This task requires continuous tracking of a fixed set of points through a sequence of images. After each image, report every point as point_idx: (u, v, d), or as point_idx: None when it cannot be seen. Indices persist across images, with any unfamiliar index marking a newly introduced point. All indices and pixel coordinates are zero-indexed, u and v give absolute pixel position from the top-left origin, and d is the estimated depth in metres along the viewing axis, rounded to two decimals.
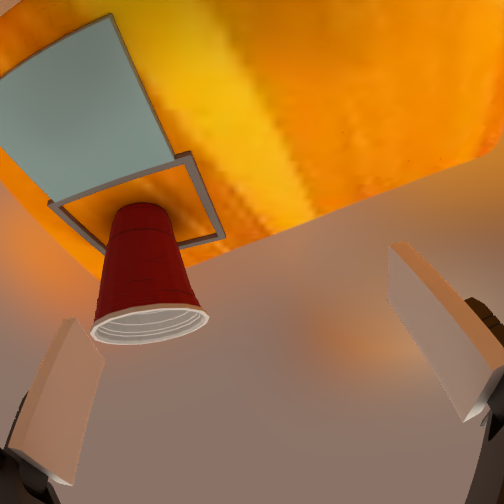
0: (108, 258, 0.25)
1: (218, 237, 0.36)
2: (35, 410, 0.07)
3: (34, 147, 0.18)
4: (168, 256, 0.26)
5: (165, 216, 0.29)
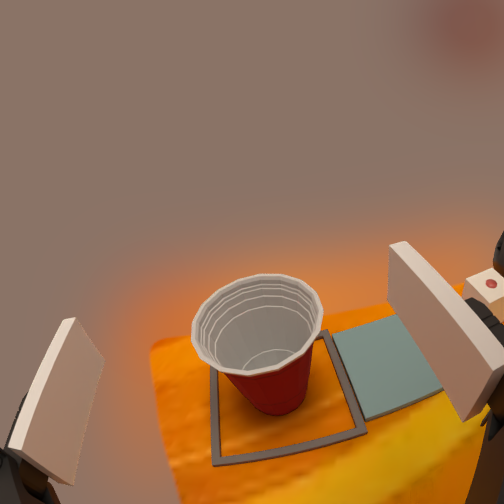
0: None
1: (217, 457, 0.24)
2: (35, 410, 0.07)
3: (390, 332, 0.32)
4: (297, 381, 0.24)
5: (289, 409, 0.27)
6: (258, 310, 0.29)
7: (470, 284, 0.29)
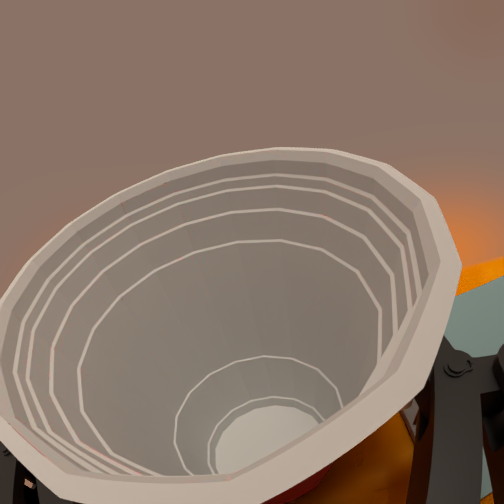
0: None
1: None
2: None
3: (484, 316, 0.14)
4: None
5: (294, 498, 0.09)
6: (218, 253, 0.12)
7: None
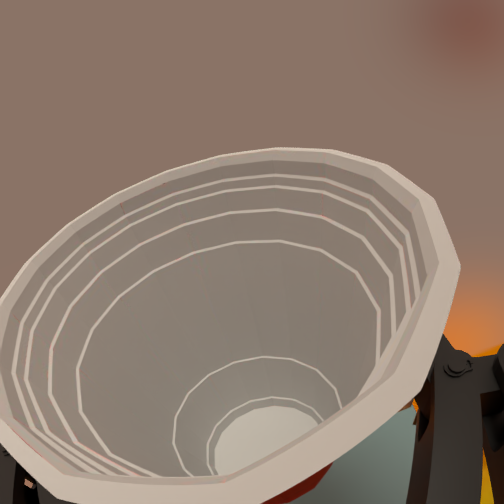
0: None
1: None
2: None
3: None
4: (324, 465, 0.06)
5: (293, 499, 0.09)
6: (217, 254, 0.12)
7: None
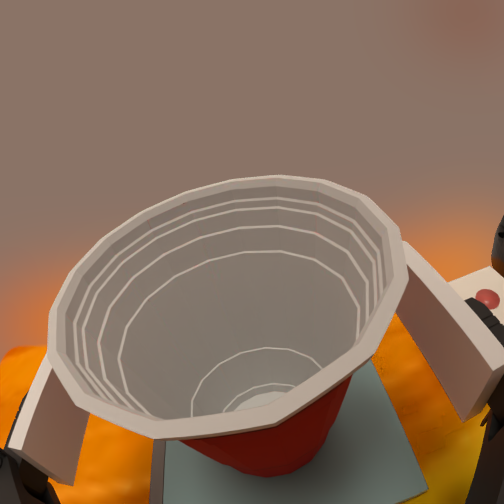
0: None
1: None
2: (35, 410, 0.07)
3: None
4: (319, 428, 0.09)
5: (294, 469, 0.12)
6: (228, 261, 0.14)
7: None
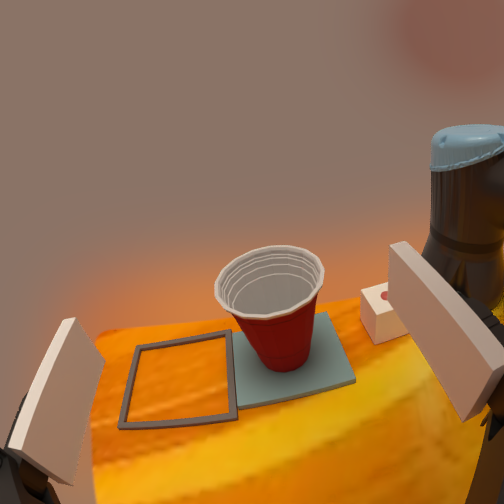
0: None
1: (122, 422, 0.30)
2: (35, 410, 0.07)
3: None
4: (303, 333, 0.30)
5: (296, 365, 0.32)
6: (268, 277, 0.35)
7: (363, 295, 0.35)
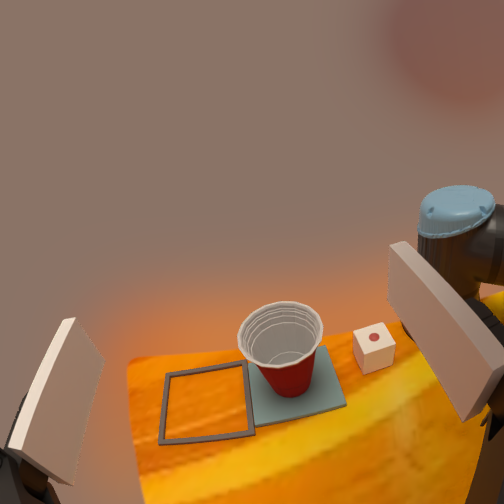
0: (306, 344, 0.42)
1: (161, 439, 0.38)
2: (35, 410, 0.07)
3: None
4: (306, 372, 0.37)
5: (300, 392, 0.40)
6: (278, 325, 0.43)
7: (355, 336, 0.43)
